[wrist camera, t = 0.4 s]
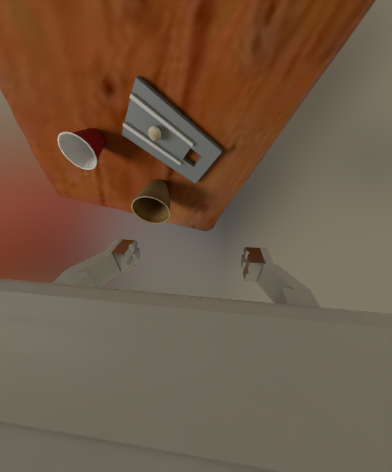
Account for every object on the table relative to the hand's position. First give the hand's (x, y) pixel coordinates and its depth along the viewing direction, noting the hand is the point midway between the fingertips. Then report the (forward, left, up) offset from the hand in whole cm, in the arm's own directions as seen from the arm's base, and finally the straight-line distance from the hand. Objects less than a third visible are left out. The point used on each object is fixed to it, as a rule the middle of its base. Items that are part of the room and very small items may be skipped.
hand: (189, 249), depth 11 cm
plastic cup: (+32, -25, -51) cm, 65 cm away
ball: (+16, -8, -46) cm, 49 cm away
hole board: (+16, -2, -50) cm, 53 cm away
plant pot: (+37, +2, -51) cm, 63 cm away
